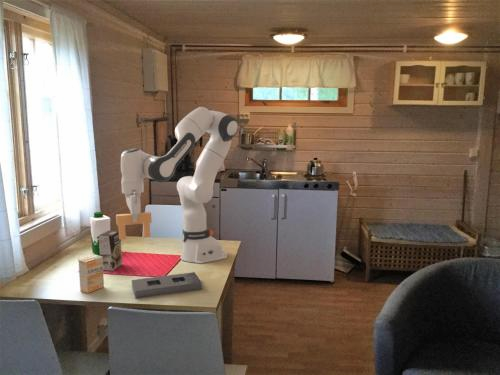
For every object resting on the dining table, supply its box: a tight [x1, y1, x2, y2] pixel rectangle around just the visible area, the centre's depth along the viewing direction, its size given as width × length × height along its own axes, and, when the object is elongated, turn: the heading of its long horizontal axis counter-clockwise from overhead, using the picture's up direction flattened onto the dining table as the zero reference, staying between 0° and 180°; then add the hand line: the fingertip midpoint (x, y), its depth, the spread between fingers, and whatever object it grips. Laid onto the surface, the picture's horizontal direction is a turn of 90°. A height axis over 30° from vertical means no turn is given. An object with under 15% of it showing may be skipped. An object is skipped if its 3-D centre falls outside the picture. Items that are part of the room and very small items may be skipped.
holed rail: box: [131, 271, 203, 300], centre depth 185 cm, size 26×12×3 cm, turn 110°
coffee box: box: [99, 230, 123, 272], centre depth 208 cm, size 9×6×16 cm
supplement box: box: [78, 254, 105, 295], centre depth 183 cm, size 8×5×13 cm, turn 148°
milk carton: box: [89, 211, 111, 256], centre depth 228 cm, size 9×9×20 cm
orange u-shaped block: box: [115, 211, 152, 241], centre depth 193 cm, size 14×3×10 cm, turn 110°
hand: (134, 220), depth 192 cm, fingers closed on orange u-shaped block, 3 cm apart
